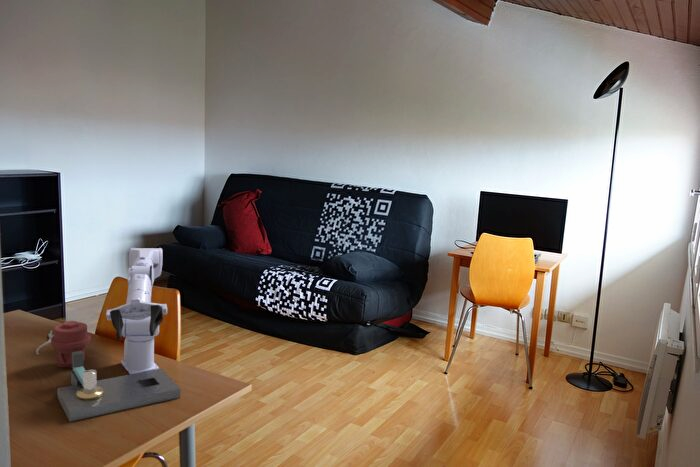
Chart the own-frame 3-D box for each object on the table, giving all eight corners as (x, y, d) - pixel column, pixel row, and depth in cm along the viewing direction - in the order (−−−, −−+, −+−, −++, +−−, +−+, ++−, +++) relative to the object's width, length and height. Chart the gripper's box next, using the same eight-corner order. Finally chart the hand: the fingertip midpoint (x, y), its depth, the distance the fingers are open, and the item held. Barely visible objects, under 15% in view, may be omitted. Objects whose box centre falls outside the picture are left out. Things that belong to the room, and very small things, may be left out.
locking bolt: (72, 370, 155) (71, 352, 154) (81, 368, 156) (81, 350, 155) (83, 388, 145) (82, 369, 144) (93, 386, 146) (93, 367, 146)
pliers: (37, 355, 170) (27, 333, 186) (37, 358, 170) (27, 336, 186) (74, 350, 175) (61, 329, 191) (74, 352, 176) (61, 331, 191)
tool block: (52, 386, 152) (51, 374, 152) (153, 367, 168) (153, 356, 167) (69, 422, 136) (69, 408, 135) (180, 397, 151) (180, 385, 151)
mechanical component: (76, 355, 173) (98, 364, 168) (43, 366, 164) (66, 375, 159) (75, 314, 171) (98, 322, 166) (42, 323, 162) (65, 331, 157)
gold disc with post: (74, 400, 145) (73, 370, 144) (100, 395, 149) (99, 365, 148) (79, 410, 141) (79, 379, 139) (106, 405, 144) (106, 374, 143)
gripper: (106, 289, 152) (100, 326, 141) (165, 283, 155) (163, 319, 144) (111, 309, 156) (105, 347, 145) (168, 303, 159) (167, 340, 148)
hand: (135, 335), depth 145 cm, fingers open, 7 cm apart
